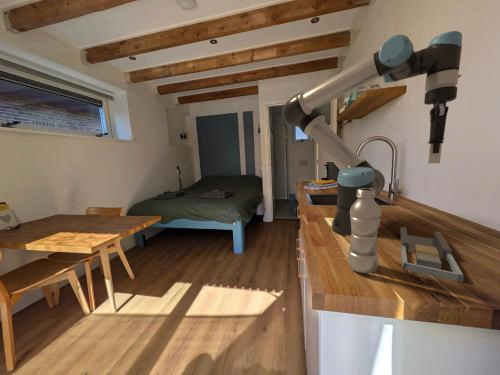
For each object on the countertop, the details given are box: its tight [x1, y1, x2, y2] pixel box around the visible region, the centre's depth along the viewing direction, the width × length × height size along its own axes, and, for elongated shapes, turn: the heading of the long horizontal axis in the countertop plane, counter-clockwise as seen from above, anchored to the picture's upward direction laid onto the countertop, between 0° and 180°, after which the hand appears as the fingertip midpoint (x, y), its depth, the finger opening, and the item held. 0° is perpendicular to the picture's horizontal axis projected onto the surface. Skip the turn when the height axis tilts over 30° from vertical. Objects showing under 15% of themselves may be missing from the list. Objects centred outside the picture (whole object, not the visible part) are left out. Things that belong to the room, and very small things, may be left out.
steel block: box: [414, 252, 442, 270], centre depth 48 cm, size 4×4×3 cm
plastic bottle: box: [346, 188, 382, 275], centre depth 48 cm, size 6×7×20 cm
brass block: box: [413, 244, 439, 257], centre depth 51 cm, size 4×4×3 cm
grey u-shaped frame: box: [400, 246, 465, 283], centre depth 49 cm, size 10×11×2 cm
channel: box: [399, 226, 453, 260], centre depth 59 cm, size 10×15×3 cm, turn 145°
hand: (434, 163), depth 67 cm, fingers closed
